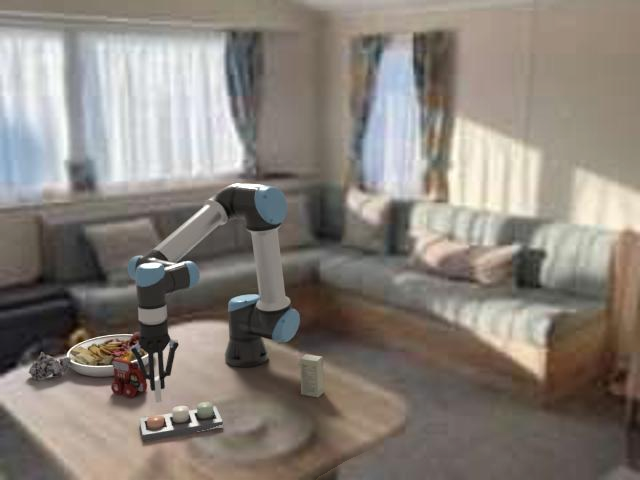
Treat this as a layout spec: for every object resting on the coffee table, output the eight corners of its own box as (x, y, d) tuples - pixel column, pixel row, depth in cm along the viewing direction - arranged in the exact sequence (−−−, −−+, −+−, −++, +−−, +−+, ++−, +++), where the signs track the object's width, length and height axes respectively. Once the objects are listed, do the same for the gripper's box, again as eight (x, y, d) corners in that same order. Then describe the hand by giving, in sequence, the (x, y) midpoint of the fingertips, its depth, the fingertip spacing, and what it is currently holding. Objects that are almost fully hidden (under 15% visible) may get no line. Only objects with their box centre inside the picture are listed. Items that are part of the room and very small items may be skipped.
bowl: (108, 388, 215) (106, 365, 213) (49, 368, 231) (47, 346, 229) (174, 357, 240) (173, 336, 238) (117, 341, 255) (115, 321, 254)
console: (216, 412, 198) (215, 406, 198) (222, 427, 189) (222, 421, 188) (139, 424, 191) (139, 418, 190) (143, 441, 182) (142, 434, 181)
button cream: (187, 413, 192) (187, 404, 192) (190, 420, 188) (189, 411, 187) (171, 416, 191) (171, 407, 190) (173, 423, 186) (173, 414, 186)
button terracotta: (163, 422, 190) (162, 413, 190) (165, 430, 186) (164, 421, 185) (146, 425, 189) (146, 416, 188) (148, 433, 185) (147, 424, 184)
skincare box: (324, 392, 211) (324, 356, 208) (318, 398, 207) (318, 361, 204) (306, 388, 213) (305, 353, 211) (299, 394, 210) (299, 358, 207)
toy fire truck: (137, 400, 206) (135, 369, 204) (107, 392, 211) (105, 362, 209) (152, 391, 212) (150, 361, 210) (123, 384, 217) (120, 354, 215)
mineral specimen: (76, 362, 225) (56, 342, 222) (63, 382, 218) (41, 361, 214) (53, 373, 230) (32, 353, 227) (39, 392, 223) (18, 372, 219)
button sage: (211, 409, 195) (211, 400, 194) (214, 416, 190) (214, 407, 190) (195, 412, 193) (195, 403, 192) (198, 419, 189) (198, 410, 188)
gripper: (175, 313, 186) (180, 390, 192) (127, 318, 182) (133, 397, 187) (179, 321, 179) (183, 402, 185) (129, 327, 175) (135, 409, 180)
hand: (158, 399), depth 186 cm, fingers closed
